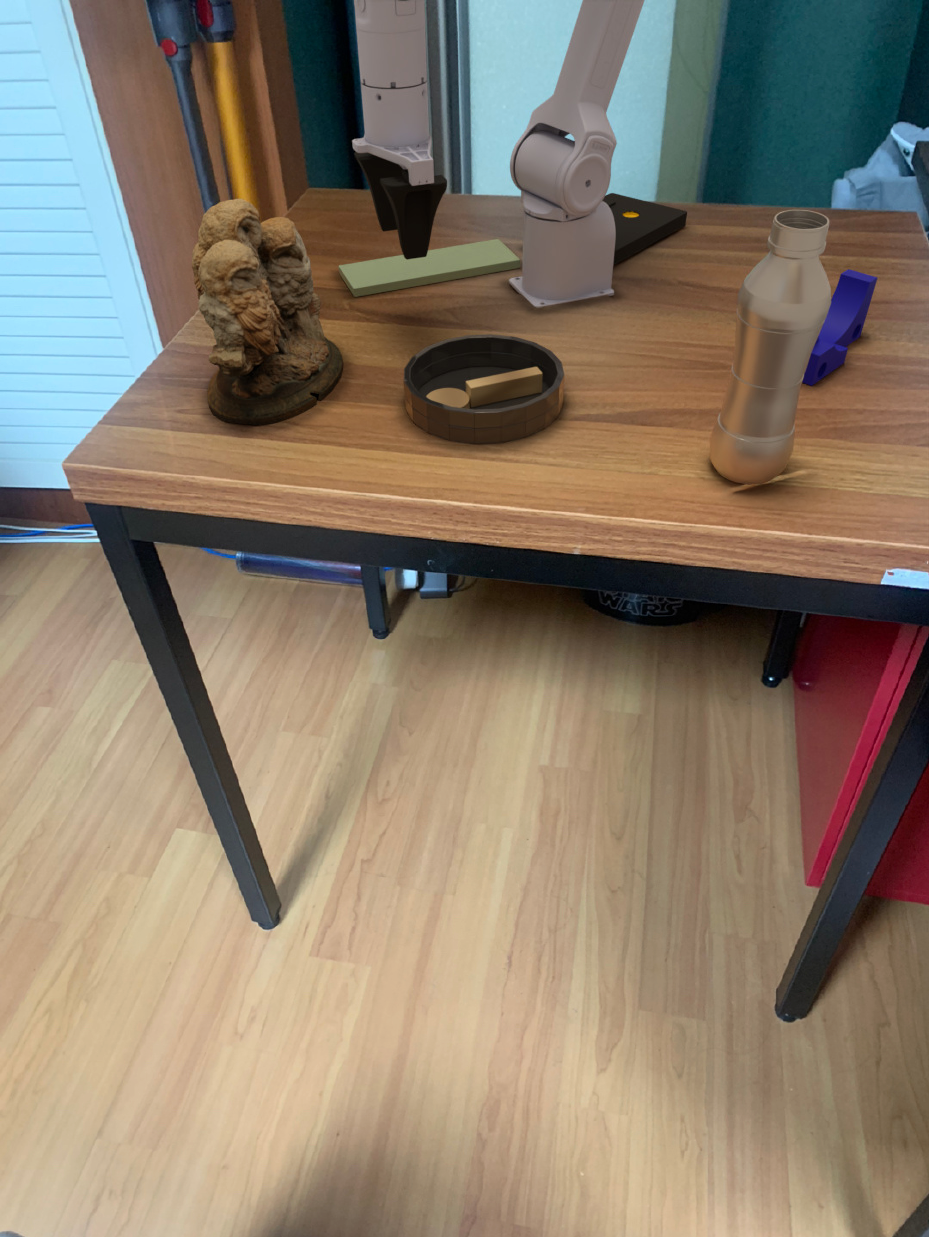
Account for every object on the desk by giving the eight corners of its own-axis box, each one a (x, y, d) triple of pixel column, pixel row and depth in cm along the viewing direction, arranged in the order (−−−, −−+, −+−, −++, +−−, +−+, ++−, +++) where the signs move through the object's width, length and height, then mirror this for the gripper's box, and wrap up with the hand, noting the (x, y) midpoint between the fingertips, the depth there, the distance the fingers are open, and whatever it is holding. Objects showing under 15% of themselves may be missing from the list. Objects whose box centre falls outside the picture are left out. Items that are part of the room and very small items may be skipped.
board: (498, 247, 109) (498, 238, 108) (520, 268, 104) (520, 259, 103) (339, 274, 104) (338, 265, 103) (354, 297, 99) (353, 288, 99)
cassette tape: (610, 207, 117) (611, 190, 116) (686, 227, 112) (688, 209, 110) (524, 249, 108) (524, 231, 106) (602, 273, 102) (603, 254, 101)
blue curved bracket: (811, 386, 82) (827, 324, 78) (768, 370, 85) (782, 309, 81) (874, 341, 88) (892, 282, 84) (832, 327, 91) (848, 269, 87)
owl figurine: (305, 442, 78) (270, 244, 66) (180, 431, 80) (124, 237, 68) (362, 346, 91) (341, 167, 79) (253, 339, 92) (217, 162, 81)
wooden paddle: (433, 424, 79) (432, 404, 77) (419, 402, 81) (418, 382, 80) (548, 399, 81) (548, 379, 80) (530, 379, 84) (531, 359, 82)
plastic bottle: (788, 455, 74) (854, 206, 60) (782, 502, 70) (851, 243, 56) (710, 443, 76) (757, 198, 62) (698, 488, 71) (746, 233, 57)
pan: (525, 357, 88) (526, 323, 86) (588, 428, 78) (590, 392, 76) (387, 385, 85) (384, 351, 82) (435, 462, 75) (433, 426, 73)
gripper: (328, 67, 80) (344, 223, 90) (371, 106, 70) (384, 276, 80) (403, 60, 82) (411, 214, 91) (455, 97, 72) (458, 265, 81)
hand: (403, 242), depth 85 cm, fingers open, 7 cm apart
